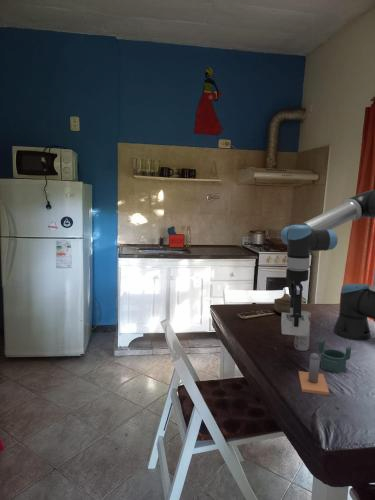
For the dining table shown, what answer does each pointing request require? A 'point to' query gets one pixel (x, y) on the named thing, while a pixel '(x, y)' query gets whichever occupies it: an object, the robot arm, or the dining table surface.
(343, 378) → the dining table surface
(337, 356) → the bracket
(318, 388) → the keeper
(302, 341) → the beverage can
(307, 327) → the white square sleeve
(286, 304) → the bowl
